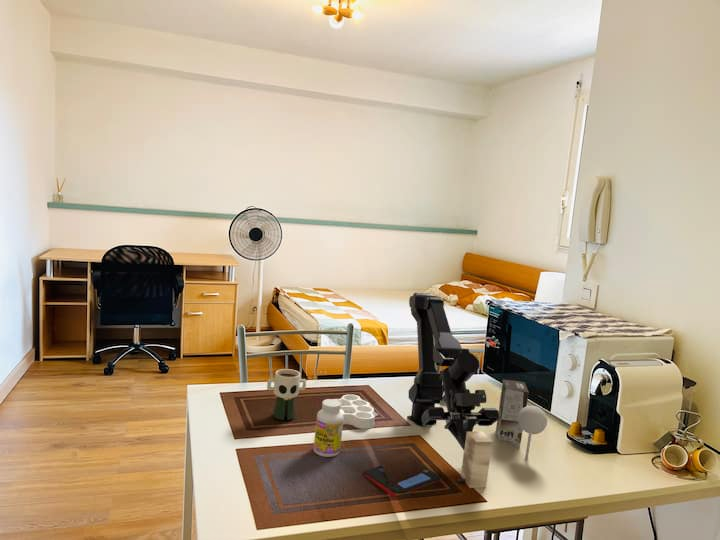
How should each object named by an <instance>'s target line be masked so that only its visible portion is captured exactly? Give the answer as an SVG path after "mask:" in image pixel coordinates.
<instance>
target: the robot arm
mask: <svg viewBox="0 0 720 540" xmlns="http://www.w3.org/2000/svg"><path fill="white" fill-rule="evenodd" d="M408 304H409V305H408V306H409V307H410V313H411V316H412V317H413V319H414V320H415V322H416V330H417V331H416V332H417V334H416V335H417V351H418V354H417V355H418V371H417V373H416V374H415V376H414V379H413V384H412V385H411V387H410V388H409V389H408V399H409V400H410V402H411V403H412V407H411V414H410V415H407V416H406V418H407V419H408V420H410V421H411V422H413V423H414V424H416V425H417V426H420V427H424V426H425V427H426V426H427V427H428V426H431V427H432V426H433V427H434V426H435V424H437V421H445V425H444V429H445V430H448V431H449V432H450V434H451V435H452V436H453V437H454V438H455V440H456V441H457V442H458V444H459V445H460V447H461V448H462V450H463V451H464V448H465V441H466V434H467V432H474V427H475V426H476V425H478V426H479V427H489V426H492V425H494V423H497V420H498V419H500V415H499V412H498V411H499V409H497V408H495V407H482V408H481V409H480V410H478V411H477V412H476V411H474V410H475V409H476V408H477V407H478V408H480V407H481V404H486V403H487V394H486V390H485V389H475V391H474V392H471V391H470V389H469V388H467V386H466V382H468V381H469V380H470V379H471V378H472V377H473V375H475V373H476V372H477V371H478V370H479V369H480V361H479V359H478V358H477V357H476V355H475V354H473V353H471V352H470V350H469V349H470V348H465V347H464V348H463V347H462V345H461V343H460V341H459V340H458V339H457V338H455V337H454V336H453V334H452V330H451V327H450V325H449V321H448V318H447V314H446V311H445V308H444V306H445V301H444V299H443V298H441V297H437V295H435V293H427V292H414V293H413V294H412V295H410V296H409V300H408ZM436 366H438V367H446V368H445V369H442V371H441V372H439V371H438V370H437V369H436ZM444 395H445V396H444ZM443 396H444V397H443ZM442 397H443V398H442ZM442 400H443V402H445V403H446V409H447V411H445V409H444V408H443V407H442V406H436V404H437V405H440V404H441V403H442ZM472 411H474V412H472Z"/></svg>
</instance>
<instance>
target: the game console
mask: <svg viewBox="0 0 720 540" xmlns="http://www.w3.org/2000/svg"><path fill="white" fill-rule="evenodd" d="M422 472H423V473H422ZM422 472H421V473H419V474H417V475H414V476H411V477H409V478H407V479H404V480H402V481H400V482H398V483H397V484H395V485H394V481H389V479H388V477H387V475H386V472H385V471H384V468H383V465H380V466H376V467H373V468H369V469H366V470H363V471H362V474H363V475H364V476H365V477H366V478H367V479H368V480H370V481H371V482H372V483H374V484H375V485H376V486H378V488H380V489H382V490H383V491H384V492H386V493H387V494H388V495H389V496H390V497H391V498H394V499H398V497H397V495H396V494H397V493H398V494H406V493H409V492H411V491H415V490H417V489H420V488H423V487H426V486H429V485H431V484H434V483H437V482H439V481H441V477H440V475H439V474H438V473H436V472H434V471H432V470H428V469H422Z"/></svg>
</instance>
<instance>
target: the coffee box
mask: <svg viewBox="0 0 720 540" xmlns="http://www.w3.org/2000/svg"><path fill="white" fill-rule="evenodd" d="M500 391H501V392H500V398H499V406H498V412H499V415H500V419H498V420H497V421H496V427H495V434H496V435H497V439H498V440H500V441H506V442H509V443H510V444H511V445H512V446H513V447H515V448H521V443H522V437H523V432H524V430H523V429H522V428H521V427H520V425H519V422H518V415H519V413H520V411H521V410H522V409H523V408H524V407H526V406H528V399H529V394H530V392H529V390H528V386H527V384H526V382H523V381H517V380H513V379H512V380H509V379H502V385H501V390H500Z"/></svg>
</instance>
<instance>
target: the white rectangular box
mask: <svg viewBox="0 0 720 540" xmlns="http://www.w3.org/2000/svg"><path fill="white" fill-rule="evenodd" d="M493 442H494V441H493V440H492V439H490V437H489V436H487V434H486V433H485V432H484V431H472V432H467V434H466V441H465V448H464V450H463V457H462V464H461V471H460V477H461V478H456V480H457V481H456V482H457V483H459V482H460V483H461V482H462V483H465V485H467V486H468V488H469V489H472V488H474V489H475V488H477V489H478V488H481V489H482V488H487V482H488V476H489V469H490V461H491V456H492V449H493Z"/></svg>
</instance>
